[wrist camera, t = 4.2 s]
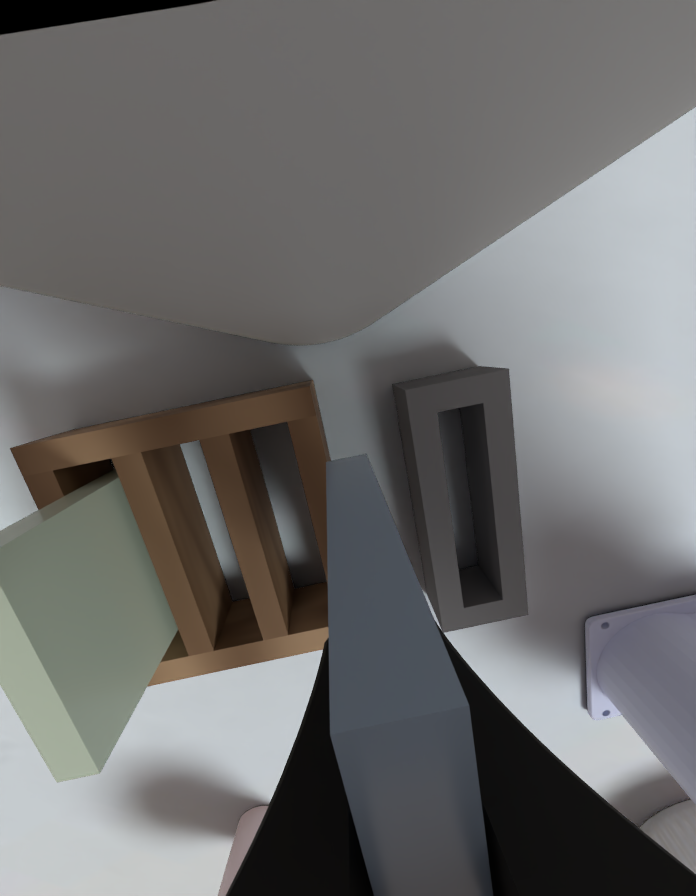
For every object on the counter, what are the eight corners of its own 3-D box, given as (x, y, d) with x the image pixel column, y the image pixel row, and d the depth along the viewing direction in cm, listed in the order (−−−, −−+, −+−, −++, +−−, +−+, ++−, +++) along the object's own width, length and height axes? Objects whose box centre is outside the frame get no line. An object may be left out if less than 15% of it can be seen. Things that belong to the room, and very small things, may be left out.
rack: (312, 379, 17) (309, 386, 14) (360, 593, 21) (367, 639, 17) (71, 430, 17) (9, 448, 14) (156, 636, 21) (123, 691, 17)
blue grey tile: (366, 453, 12) (469, 704, 4) (400, 641, 14) (517, 1085, 6) (325, 461, 12) (329, 733, 4) (366, 648, 14) (430, 1104, 6)
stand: (479, 366, 18) (508, 368, 15) (500, 578, 21) (528, 614, 18) (392, 384, 18) (405, 390, 15) (427, 594, 21) (443, 632, 18)
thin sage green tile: (149, 459, 18) (-15, 556, 9) (198, 592, 20) (99, 773, 11) (122, 464, 18) (-68, 567, 9) (173, 597, 20) (56, 782, 11)
